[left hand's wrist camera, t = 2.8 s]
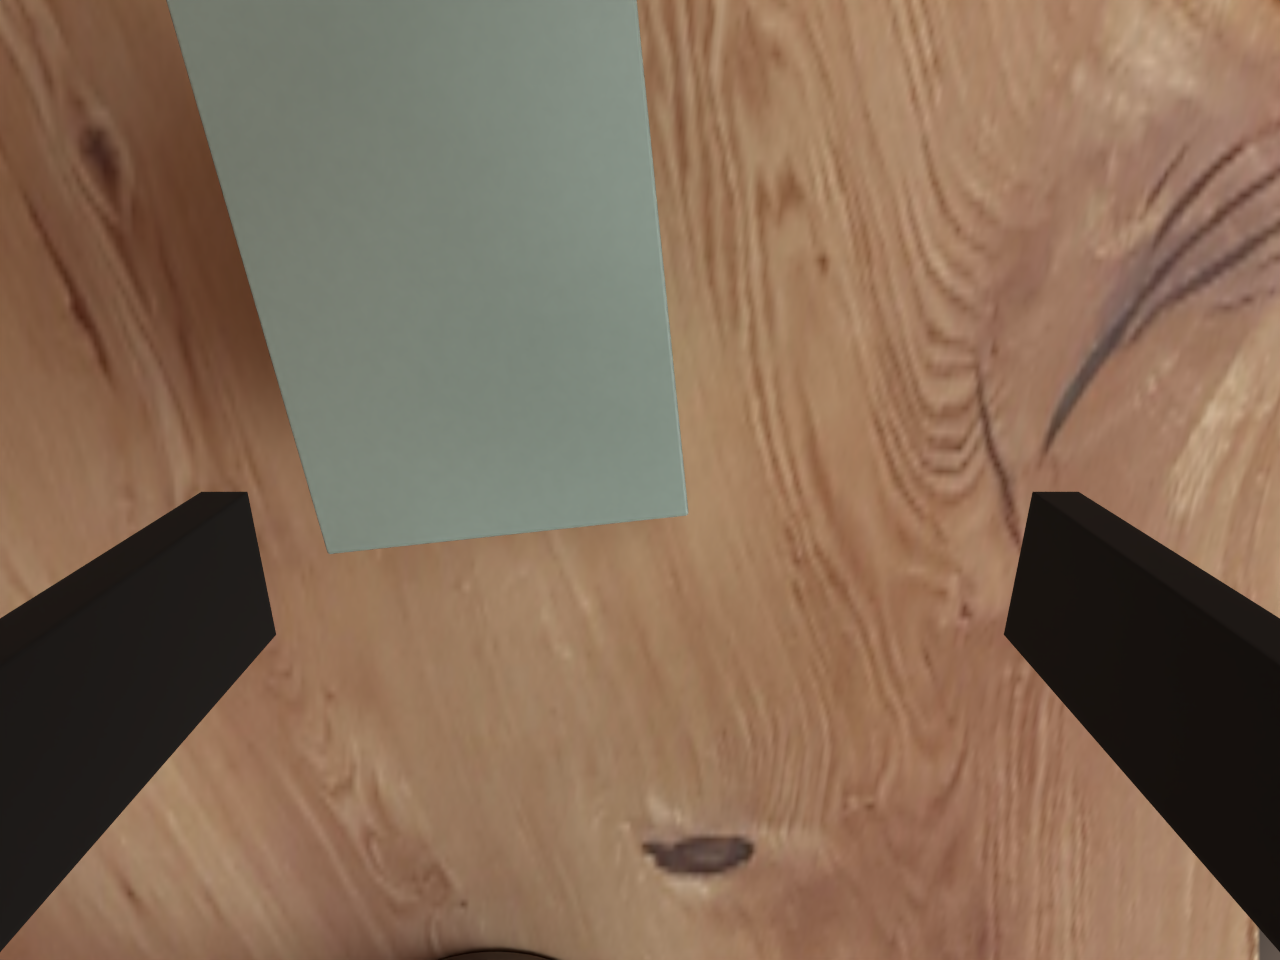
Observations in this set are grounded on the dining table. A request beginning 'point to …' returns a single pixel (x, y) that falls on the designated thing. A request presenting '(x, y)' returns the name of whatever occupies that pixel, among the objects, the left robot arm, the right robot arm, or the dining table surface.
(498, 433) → the cabinet
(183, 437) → the dining table surface
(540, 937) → the dining table surface
